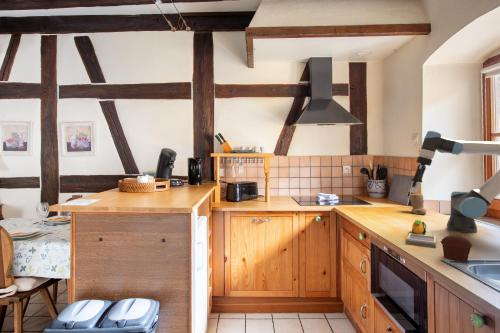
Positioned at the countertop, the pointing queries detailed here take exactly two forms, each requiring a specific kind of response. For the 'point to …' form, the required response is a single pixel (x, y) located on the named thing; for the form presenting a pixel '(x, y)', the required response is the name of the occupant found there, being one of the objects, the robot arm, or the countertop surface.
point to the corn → (419, 227)
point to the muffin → (456, 248)
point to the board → (421, 240)
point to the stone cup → (417, 203)
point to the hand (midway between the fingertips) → (413, 192)
